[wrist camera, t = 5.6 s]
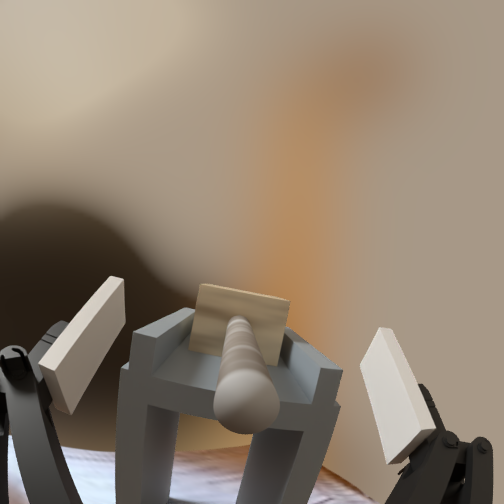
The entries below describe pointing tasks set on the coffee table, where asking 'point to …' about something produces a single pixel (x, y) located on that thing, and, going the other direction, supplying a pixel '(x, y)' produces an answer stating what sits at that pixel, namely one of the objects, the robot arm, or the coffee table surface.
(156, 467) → the shelf
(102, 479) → the coffee table surface
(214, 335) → the maple block
